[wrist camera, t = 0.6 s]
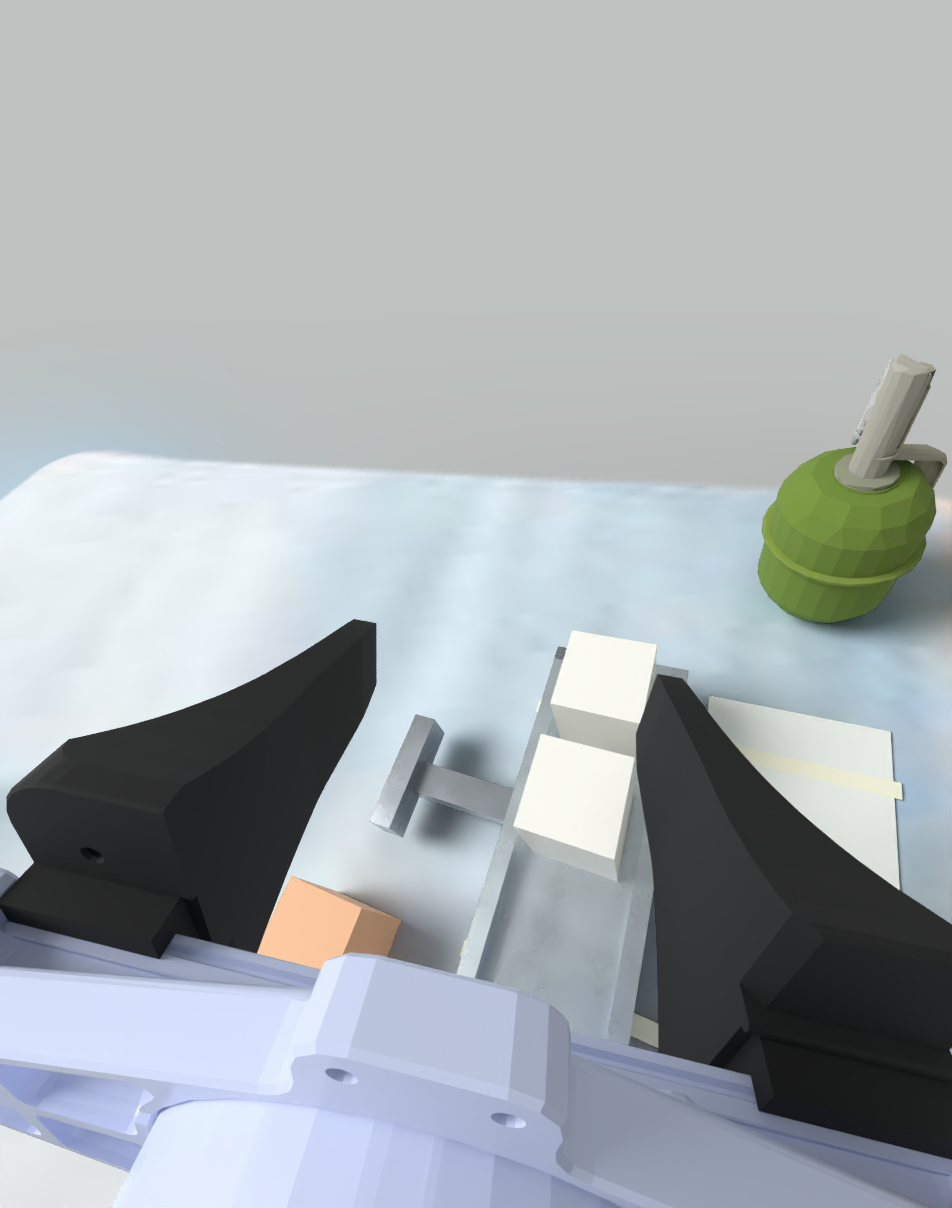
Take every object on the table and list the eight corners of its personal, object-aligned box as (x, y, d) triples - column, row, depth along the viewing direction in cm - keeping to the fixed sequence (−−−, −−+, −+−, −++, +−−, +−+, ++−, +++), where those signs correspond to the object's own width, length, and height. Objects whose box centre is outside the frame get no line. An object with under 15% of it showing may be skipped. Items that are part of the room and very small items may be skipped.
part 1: (640, 764, 26) (641, 724, 22) (562, 744, 27) (550, 703, 24) (654, 693, 28) (657, 644, 24) (580, 678, 29) (572, 630, 26)
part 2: (617, 881, 23) (614, 859, 19) (532, 851, 25) (513, 825, 21) (634, 793, 25) (634, 757, 21) (554, 771, 27) (540, 733, 23)
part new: (366, 1013, 25) (316, 1017, 21) (301, 977, 26) (243, 974, 22) (401, 920, 27) (362, 908, 23) (338, 892, 28) (291, 876, 24)
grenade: (721, 574, 34) (766, 355, 22) (837, 528, 34) (943, 285, 22) (796, 662, 29) (901, 446, 18) (930, 610, 29) (1125, 357, 18)
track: (933, 1279, 17) (934, 1280, 17) (439, 1021, 24) (438, 1022, 24) (897, 733, 26) (898, 732, 26) (551, 664, 33) (551, 663, 33)
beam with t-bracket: (619, 1099, 21) (617, 1114, 18) (341, 957, 26) (310, 954, 24) (684, 697, 30) (688, 670, 27) (466, 653, 35) (454, 627, 32)
